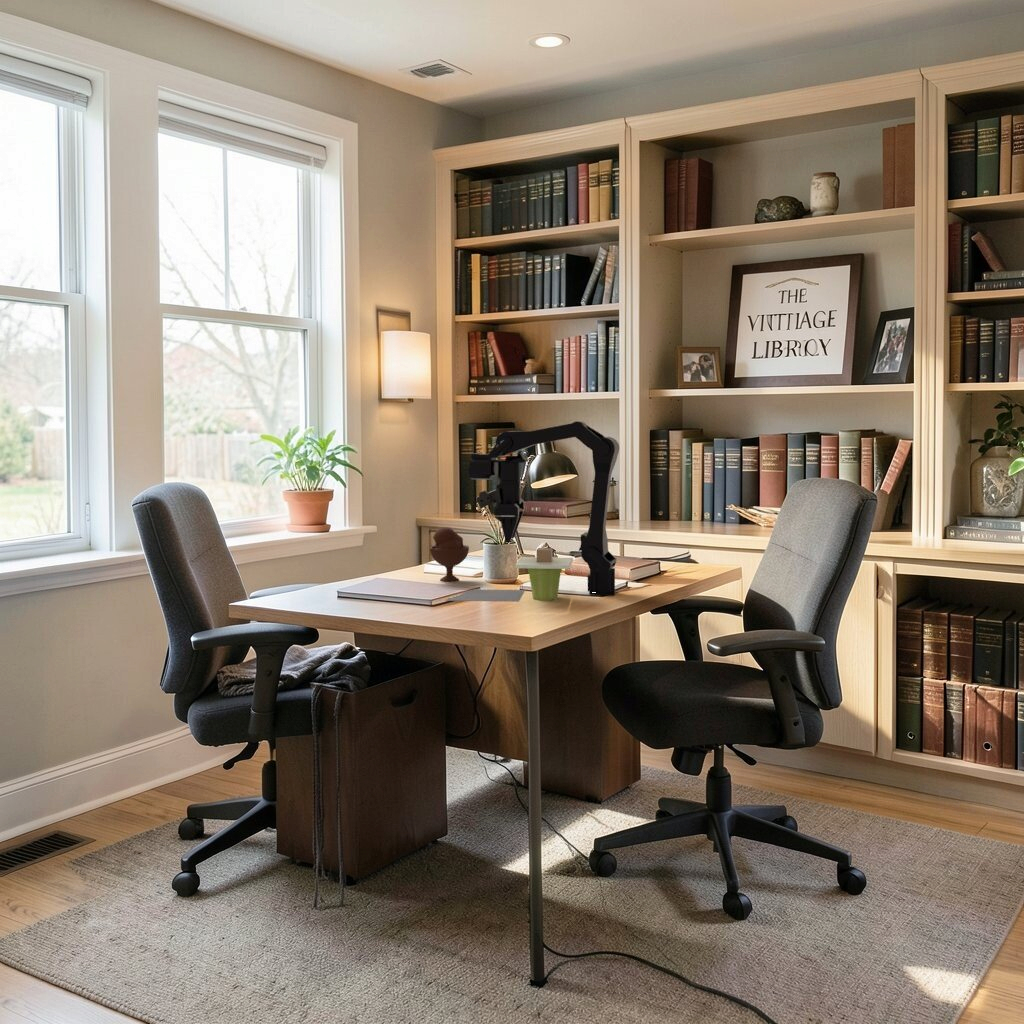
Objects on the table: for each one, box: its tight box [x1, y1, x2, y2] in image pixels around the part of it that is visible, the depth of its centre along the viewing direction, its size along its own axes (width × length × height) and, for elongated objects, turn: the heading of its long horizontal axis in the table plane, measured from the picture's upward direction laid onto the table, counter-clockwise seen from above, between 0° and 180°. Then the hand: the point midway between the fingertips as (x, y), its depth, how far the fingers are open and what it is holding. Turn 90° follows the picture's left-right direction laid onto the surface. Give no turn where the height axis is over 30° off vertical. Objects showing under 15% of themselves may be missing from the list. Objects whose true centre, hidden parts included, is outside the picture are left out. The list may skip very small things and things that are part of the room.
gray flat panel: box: [445, 588, 526, 603], centre depth 271 cm, size 18×16×1 cm
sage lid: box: [514, 547, 574, 570], centre depth 265 cm, size 13×13×4 cm
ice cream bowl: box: [429, 526, 470, 583], centre depth 293 cm, size 11×11×15 cm
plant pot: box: [526, 568, 563, 601], centre depth 266 cm, size 9×9×9 cm
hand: (509, 540), depth 279 cm, fingers open, 9 cm apart
